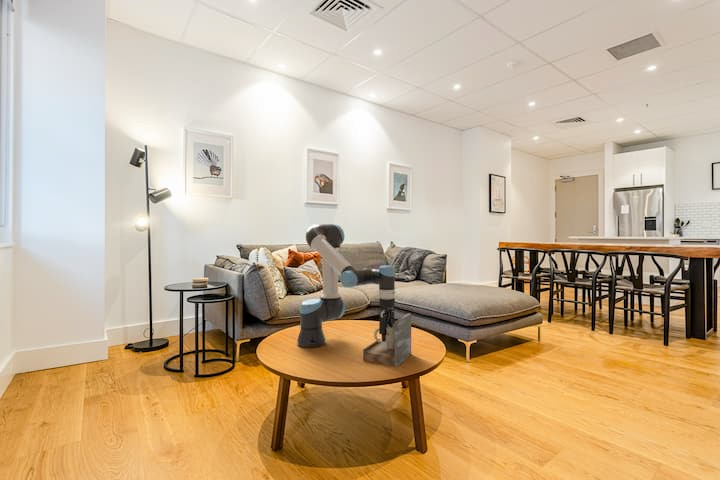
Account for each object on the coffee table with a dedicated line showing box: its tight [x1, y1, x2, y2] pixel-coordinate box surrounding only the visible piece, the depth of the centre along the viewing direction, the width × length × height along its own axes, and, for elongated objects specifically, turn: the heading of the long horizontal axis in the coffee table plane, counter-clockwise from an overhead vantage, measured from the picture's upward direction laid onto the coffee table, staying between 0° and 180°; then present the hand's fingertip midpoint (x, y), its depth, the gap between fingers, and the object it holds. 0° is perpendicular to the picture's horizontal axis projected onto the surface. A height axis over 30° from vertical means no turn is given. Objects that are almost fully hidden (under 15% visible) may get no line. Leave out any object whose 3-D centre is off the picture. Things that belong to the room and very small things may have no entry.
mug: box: [373, 324, 395, 349], centre depth 170 cm, size 8×13×10 cm, turn 79°
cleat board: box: [362, 313, 412, 367], centre depth 171 cm, size 18×18×20 cm
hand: (387, 345), depth 171 cm, fingers closed on mug, 6 cm apart
